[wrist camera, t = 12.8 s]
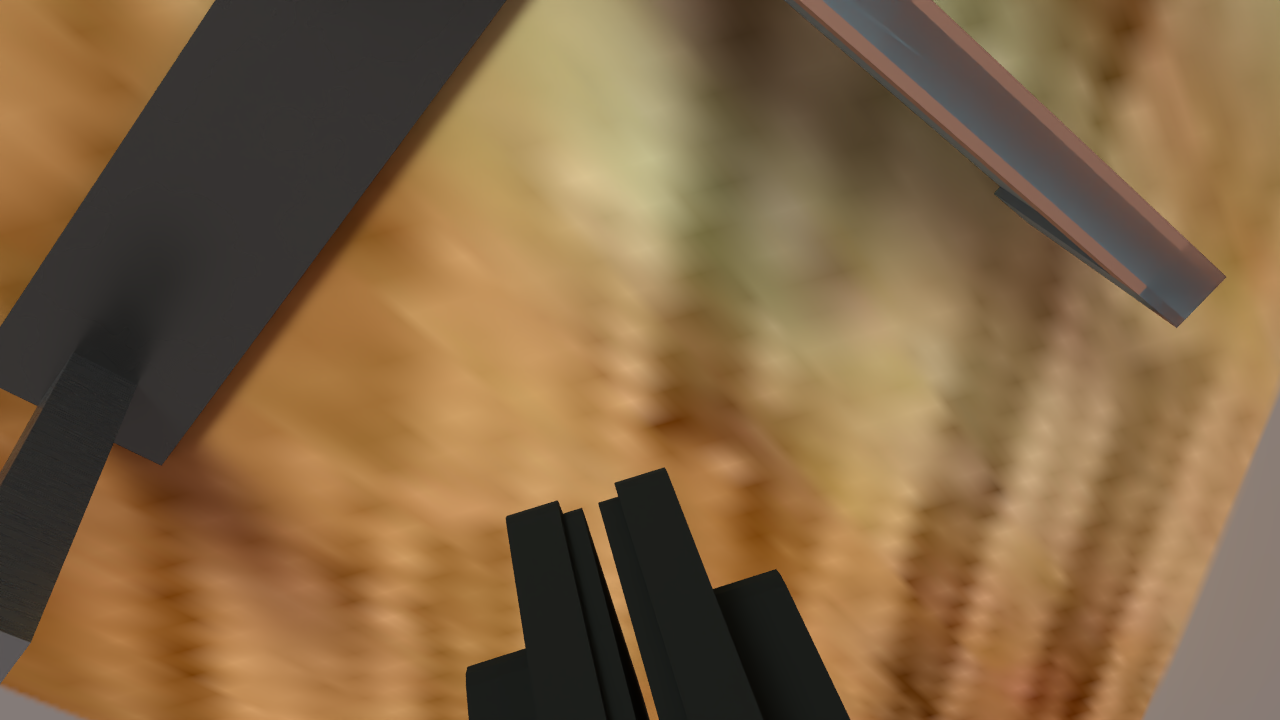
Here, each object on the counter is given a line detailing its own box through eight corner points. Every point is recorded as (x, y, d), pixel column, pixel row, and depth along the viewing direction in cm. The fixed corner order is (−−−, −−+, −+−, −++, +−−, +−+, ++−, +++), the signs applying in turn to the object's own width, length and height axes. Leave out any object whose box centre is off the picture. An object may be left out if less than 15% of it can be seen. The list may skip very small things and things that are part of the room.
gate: (487, -239, 27) (526, -243, 19) (529, -305, 26) (586, -338, 19) (1027, 222, 36) (1200, 344, 29) (1065, 180, 36) (1252, 292, 28)
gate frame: (549, -507, 25) (657, -698, 15) (730, -310, 28) (928, -358, 18) (-24, 363, 32) (-218, 639, 22) (164, 455, 35) (70, 740, 25)
